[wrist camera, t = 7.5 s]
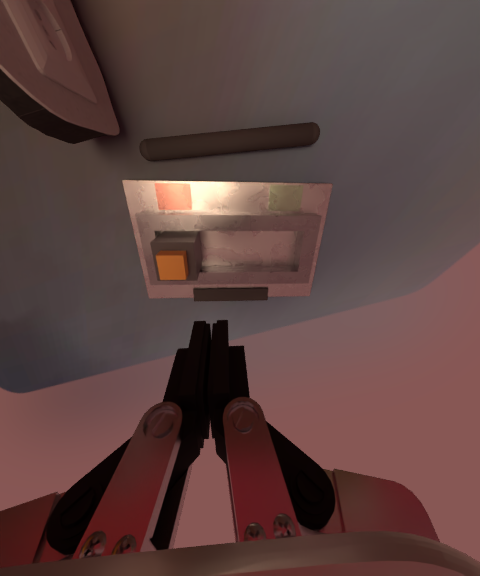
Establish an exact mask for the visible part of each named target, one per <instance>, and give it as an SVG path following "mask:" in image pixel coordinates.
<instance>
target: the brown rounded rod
mask: <svg viewBox="0 0 480 576" xmlns="http://www.w3.org/2000/svg"><path fill="white" fill-rule="evenodd" d="M319 135H320V128H319V126H318V125H317V124H316V123H313V122H311V123H301V124H291V125H281V126H271V127H261V128H251V129H241V130H231V131H221V132H212V133H202V134H192V135H182V136H172V137H162V138H152V139H144V140H143V141H142V142H141V143H140V152H141V154H142V156H143V157H144V158H145V159H147V160H149V161H157V160H167V159H177V158H187V157H197V156H207V155H216V154H226V153H236V152H246V151H256V150H266V149H276V148H286V147H296V146H305V145H312V144H314V143H315V142H316V141H317V140H318V138H319Z"/></svg>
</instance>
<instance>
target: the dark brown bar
mask: <svg viewBox="0 0 480 576" xmlns="http://www.w3.org/2000/svg"><path fill="white" fill-rule="evenodd" d="M193 294H194V301H243V300H267V299H268V288H193Z"/></svg>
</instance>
